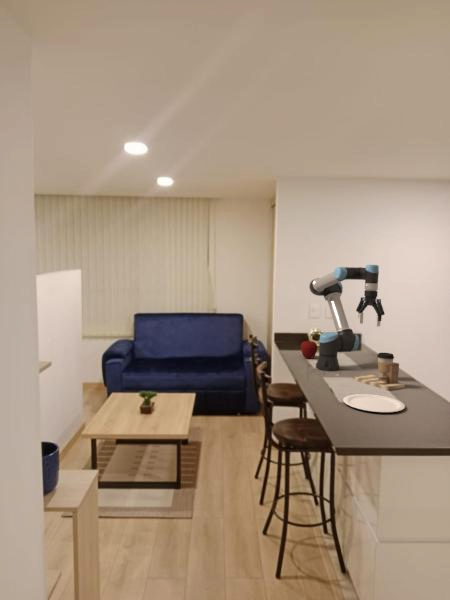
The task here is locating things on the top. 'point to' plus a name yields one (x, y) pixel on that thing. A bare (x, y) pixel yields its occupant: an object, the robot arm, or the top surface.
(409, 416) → the top surface
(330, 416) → the top surface
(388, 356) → the coffee cup
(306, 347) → the apple
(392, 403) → the plate
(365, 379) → the board
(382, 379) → the brown box
